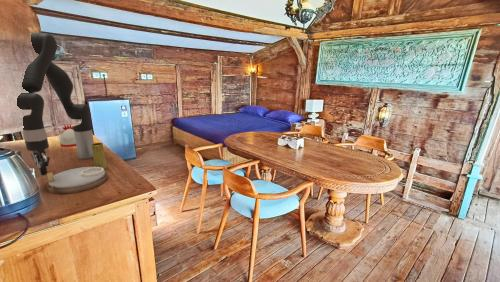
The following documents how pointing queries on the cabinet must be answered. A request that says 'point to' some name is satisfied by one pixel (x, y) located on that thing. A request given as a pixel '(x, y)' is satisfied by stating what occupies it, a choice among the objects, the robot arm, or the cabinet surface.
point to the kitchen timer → (68, 137)
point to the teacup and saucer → (59, 137)
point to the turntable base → (76, 189)
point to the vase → (99, 155)
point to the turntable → (75, 177)
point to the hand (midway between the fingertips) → (44, 174)
